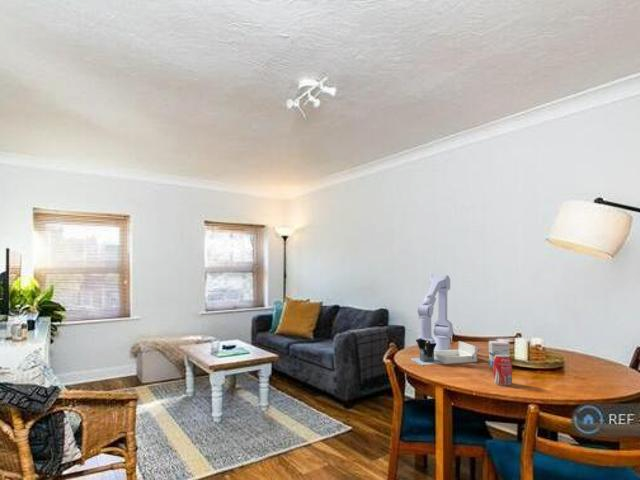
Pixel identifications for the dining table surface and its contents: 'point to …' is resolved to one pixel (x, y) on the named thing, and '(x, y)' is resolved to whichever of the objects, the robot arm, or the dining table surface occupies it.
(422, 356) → the block
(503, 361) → the soda can
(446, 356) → the case
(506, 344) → the ink box
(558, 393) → the dining table surface
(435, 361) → the mat
